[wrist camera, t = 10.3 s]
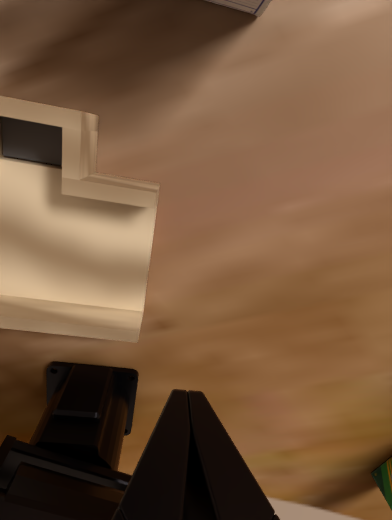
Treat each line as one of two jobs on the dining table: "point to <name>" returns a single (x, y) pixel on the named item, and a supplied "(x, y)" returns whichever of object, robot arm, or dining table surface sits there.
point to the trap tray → (72, 236)
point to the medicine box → (245, 5)
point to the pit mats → (32, 140)
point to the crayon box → (384, 480)
